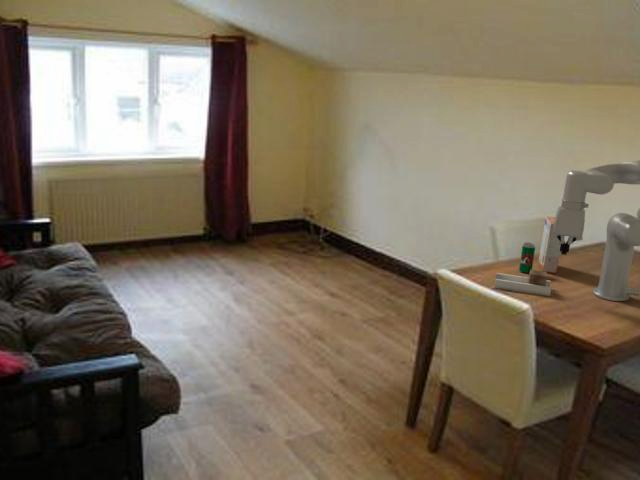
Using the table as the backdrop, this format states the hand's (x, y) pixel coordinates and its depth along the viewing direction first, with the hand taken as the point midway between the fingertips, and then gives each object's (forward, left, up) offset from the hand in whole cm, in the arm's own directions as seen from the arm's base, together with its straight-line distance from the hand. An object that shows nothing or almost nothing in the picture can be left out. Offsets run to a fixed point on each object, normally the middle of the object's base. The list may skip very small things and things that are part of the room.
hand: (563, 253), depth 228 cm
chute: (+13, 0, -16) cm, 20 cm away
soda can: (+12, -22, -16) cm, 30 cm away
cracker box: (+3, -32, -16) cm, 36 cm away
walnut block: (+8, 0, -16) cm, 18 cm away
